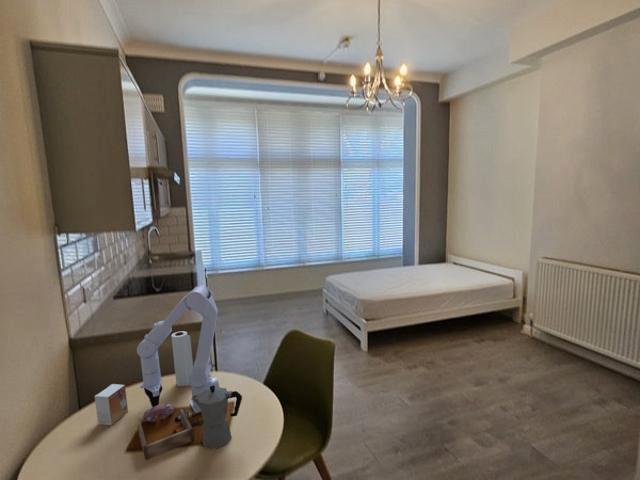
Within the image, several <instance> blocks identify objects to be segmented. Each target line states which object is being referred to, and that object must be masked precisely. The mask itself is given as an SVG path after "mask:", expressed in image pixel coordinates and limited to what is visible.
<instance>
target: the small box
mask: <svg viewBox="0 0 640 480" xmlns="http://www.w3.org/2000/svg"><path fill="white" fill-rule="evenodd" d="M94 402H95V403H94V404H95V410H96V417H97V424H98V425H102V426H103V425H105V426H113V425H114V424H115V423H116V422H118V421H119V419H121V418H122V417H124V416H125V415H126V414H127V413H128V412H129V408H128V400H127V391H126V385H125V384H116V383H111V384H109V386H107V387H106V388H105V389H103V390H101V391H100V392H99V393H97V394H96V395H94Z"/></svg>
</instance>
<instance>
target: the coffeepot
mask: <svg viewBox="0 0 640 480" xmlns="http://www.w3.org/2000/svg"><path fill="white" fill-rule="evenodd" d="M232 398H236V399H235V406H234V408H233V410H234V411H233V412H232V413H230V417H237V416H238V414H239V410H240V406H241V403H242V400H243V395H242V394H241V393H240V392H238V391H233V390H230V391H228V389H227V387H220V386H219V387H215V386H214V385H212V386H210V389H207V390H204V391H203V392H202V393H200V394H197V395H195V396H193V397H192V396H191V401H193V400H194V401H195V403H196V404H197V405H198V406H199V407H200V409H201V412H200V413H201V416H202V420H203V423H202V435H201V442H202V446H203V448H206V449H208V450H216V449H220V448H222V447H224V446H227V444H229V442H230V441H231V439H232V433H231V430H230V425H229V421H228V418H227V414H228V404H229V403H228V402H229V400H230V399H232Z"/></svg>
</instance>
